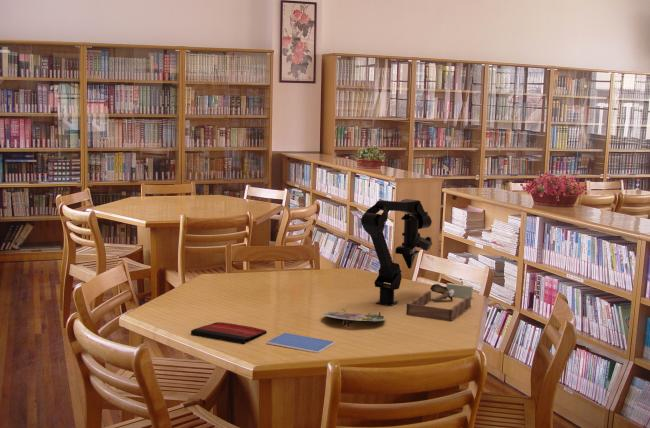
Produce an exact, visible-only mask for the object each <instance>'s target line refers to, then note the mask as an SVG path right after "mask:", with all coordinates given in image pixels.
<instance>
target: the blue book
mask: <svg viewBox="0 0 650 428" xmlns="http://www.w3.org/2000/svg"><path fill="white" fill-rule="evenodd" d="M266 344H267V345H270V346H271V345H272V346H276V347H282V348H288V349H293V350H299V351H303V352H309V353H312V354H320V353H322V352H324V351H325V350H327V349H329V348H331V347H332V346H334V345H335V344H336V342H335V341H334V340H328V339H323V338H316V337H312V336H311V337H310V336H306V335H300V334H294V333H290V332H289V333H287V332H283V333H282V334H280V335H278V336H276V337H273V338H272V339H269V340H268V341H266Z"/></svg>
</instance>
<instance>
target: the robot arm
mask: <svg viewBox="0 0 650 428" xmlns="http://www.w3.org/2000/svg"><path fill="white" fill-rule="evenodd" d="M380 211H382V213H381V214H380V213H379V212H380ZM390 211H394V212H401V213H403V214H404V215H403V216H402V217H401V220H403V221H404V222H403V223H404V225H403V232H402V233H401V235H402V236H403V242H401V245H399V246H397V247H396V248H394V249H395V251H394V252H395V254H399V255H402V258H403V260H404V261H405V264H406V267H407V269H412V267H413V264H414V261H415V257H416V256H417V254H418V253H420V252H421V251H420V250H417V248H420V249H421V250H423V251H425V252H426V251H428V250H430V249H431V247H432V245H433V241H432V237H430V236H426V237H421V233H420V232H419V230H422V229H428V228H430V227H431V225H432V224H433V223H432V221H433V220H432V218H431V216H430V215H429V213H428V211H425V209H424V207H423V205H422V203H421V201H420V200H419V199H418V200H417V199H409V198H405V199H402V200H400V201H399V200H397V201H396V200H385V199H379V200H377V201H376V203H375V204H373V205H372V206H370V207H369V208H367V210H366V211H365V212H364V213H363V215H362V217H360V222H361V226H362V228H363V230H364V231H365V232H366V234H368V235H369V236H370V238H371V241H372V242H371V243H372V244H373V248H374V250H375V255H376V257H377V260H378V262H379V268H378V275H377V277H376V279H375V280H374V287H375V288H379V300H377V301H376V303H375V304H377V305H384V306H389V307H390V306H393V305H395V304H397V302H398V301H397V300H395V290H399V289H400V287H401V286H400V285H401V283H402V278H403V277H402V270H401V266H400V264H399V263H397V262H393V260H392V256H391V253H390V249H389V247H388V243H387V240H386V238H385V233H384V230H385V228H386V224H385V223H386V222H387V220H388V219H389V212H390Z"/></svg>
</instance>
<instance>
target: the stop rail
mask: <svg viewBox="0 0 650 428" xmlns="http://www.w3.org/2000/svg"><path fill="white" fill-rule="evenodd" d="M445 287H446V288H447V289H448V291H450V290H451V288H452V289H453V290H454V296H453V297H452V298H461V299H465V298H466V297H468V296H471V300H472V299H473V289H474V288H473V285H466V284H457V283H451V282H450V283H449V282H447V283H446V286H445Z"/></svg>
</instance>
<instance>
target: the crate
mask: <svg viewBox="0 0 650 428" xmlns="http://www.w3.org/2000/svg"><path fill="white" fill-rule="evenodd" d="M431 298H432V291H431V290H427V291H425V292H424V293H423V294H421V295H419V296H417V297H416V298H414V299H412V301H409V302H407V303H406V313H405V314H406V315H408V316H414V317H421V318H426V319H427V318H428V319H435V320H442V321H449V322H452V321H453V320H455V319H456V318H457V317H459V316H460V315H461V314H463V312H465V311H466V310H467V309H469V308H470V307H471V304H472V302H471V300H472V299H471V296H468V297H466V298H463V299H462V300H460V301H459V302H458V303H457V304H455V305H454V306H452V307H451V308H450V309H449V308H442V307H435V306H429V305H428V306H427V305H426V304H428V303H429V302H432V301H431V300H432V299H431Z"/></svg>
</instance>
